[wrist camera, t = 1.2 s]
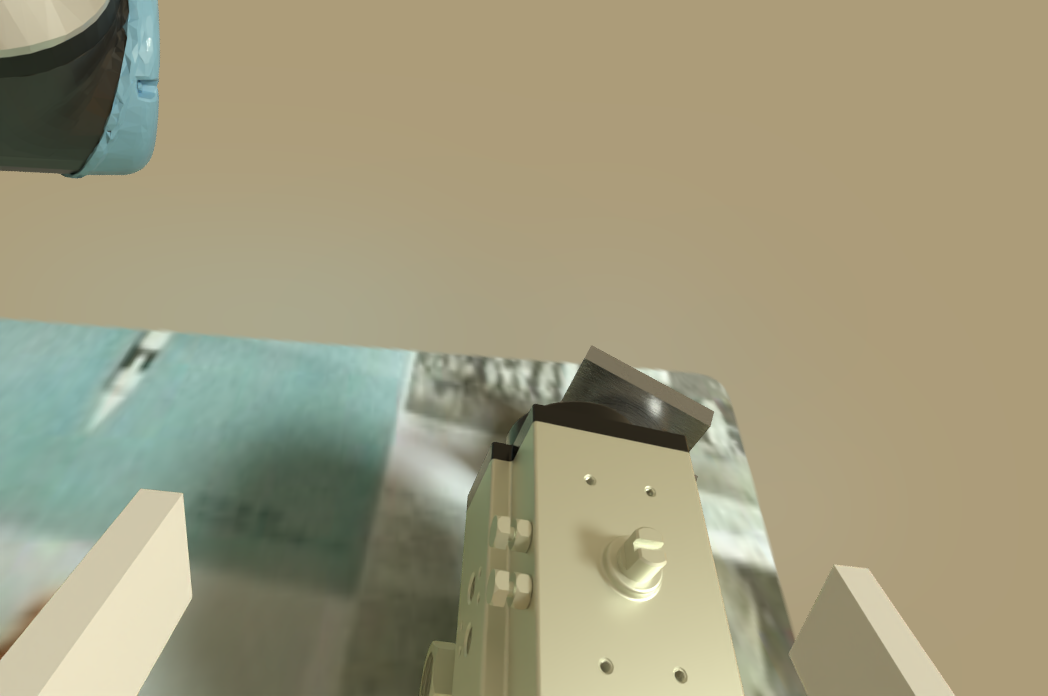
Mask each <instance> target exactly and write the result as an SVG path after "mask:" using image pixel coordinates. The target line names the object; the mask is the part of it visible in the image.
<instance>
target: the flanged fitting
mask: <svg viewBox="0 0 1048 696" xmlns="http://www.w3.org/2000/svg"><path fill="white" fill-rule="evenodd" d="M568 401H583V402H591V403H596V404H600V405H604V406H607V407H609V408H611V409H614V410H616V411H617V412H619V413H621V414H622V415H623V416H625V417H626V418H627V419H628V420H629V421H630V422H631V424H632V425H637V426H642V427H647V428H651V429H656V430H661V431H665V432H670V433H675V434H679V435H684V436H686V440H687V445H688V449H689V451H690V450H691V449H692V448H693V447H694V445H695V444H696V443H697V442H698V441H699V439H700V438H701V437H702V436H703V435H704V433H705V432H706V431H707V430H708V429H709V427H710V425H711V422H712V418H713V414H714V411H712V410H710V409H708V408H707V407H705V406H703V405H701V404H699V403H697V402H695V401H694V400H692V399H690V398H688V397H686V396H684V395H682V394H681V393H679V392H677V391H675V390H673V389H671V388H670V387H668V386H666V385H664V384H662V383H660V382H658V381H657V380H655V379H653V378H651V377H649V376H647V375H646V374H644V373H642V372H640V371H638V370H636V369H634V368H633V367H631V366H629V365H627V364H625V363H623V362H621V361H620V360H618V359H616V358H614V357H612V356H610V355H608V354H607V353H605V352H603V351H601V350H599V349H597V348H596V347H594V346H591V348H590V349H589V351H588V353H587V355H586V357H585V358H584V360H583V362H582V364H581V366H580V368H579V369H578V371H577V373H576V375H575V377H574V379H573V380H572V382H571V384H570V386H569V388H568V390H567V392H566V393H565V395H564V397H563V399H562V401H561V402H568ZM694 476H695V480H696V481H697V477H698V476H696V475H694Z"/></svg>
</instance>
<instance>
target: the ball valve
mask: <svg viewBox="0 0 1048 696" xmlns="http://www.w3.org/2000/svg"><path fill="white" fill-rule="evenodd" d="M419 696H745V695H744V691H743V686H742V682H741V678H740V673H739V669H738V664H737V660H736V656H735V651H734V647H733V642H732V638H731V634H730V629H729V625H728V620H727V616H726V612H725V607H724V603H723V599H722V594H721V590H720V585H719V581H718V577H717V572H716V568H715V563H714V559H713V555H712V550H711V546H710V541H709V537H708V533H707V528H706V524H705V519H704V515H703V511H702V506H701V502H700V497H699V493H698V489H697V484H696V480H695V476H694V471H693V467H692V462H691V458H690V454H689V449H688V445H687V440H686V436H684V435H679V434H675V433H670V432H665V431H661V430H656V429H651V428H647V427H642V426H637V425H632V424H631V422H630V421H629V420H628V419H627V418H626V417H625V416H623V415H622V414H621V413H619V412H617V411H616V410H614V409H611V408H609V407H607V406H604V405H600V404H596V403H591V402H583V401H568V402H558V403H553V404H549V405H545V406H543V405H538V404H534V405H533V406H532V408H531V410H530V412H529V413H527V414H525V415H524V416H523V417H521V418H520V419H519V420H518V421H517V422H516V423H515V424H514V425H513V426H512V428H511V429H510V431H509V433H508V435H507V438H506V444H503V443H498V442H493V443H492V444H491V446H490V449H489V451H488V453H487V455H486V457H485V459H484V462H483V464H482V466H481V468H480V470H479V473H478V475H477V477H476V479H475V481H474V483H473V486H472V488H471V490H470V492H469V494H468V499H467V511H466V524H465V536H464V549H463V561H462V574H461V586H460V599H459V611H458V624H457V636H456V643H451V642H443V641H435V640H434V641H433V642H432V643H431V645H430V647H429V649H428V652H427V655H426V659H425V663H424V668H423V673H422V679H421V685H420V693H419Z"/></svg>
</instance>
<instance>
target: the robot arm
mask: <svg viewBox="0 0 1048 696" xmlns="http://www.w3.org/2000/svg"><path fill="white" fill-rule="evenodd" d="M159 67H160V38H159V12H158V0H0V170H1V171H20V172H21V171H23V172H40V173H58V174H61V175H63V176H65V177H70V178H82V177H84V176H86V175H127V174H132V173H135V172H137V171H139V170H141V169H142V168H143V167H144V166H145V165H146V164H147V163H148V162H149V160H150V158H151V156H152V153H153V150H154V146H155V140H156V132H157V123H158V103H159V96H158V89H157V84H158V82H159V76H158V75H159ZM191 599H192V587H191V576H190V565H189V554H188V543H187V533H186V522H185V511H184V500H183V493H176V492H167V491H158V490H149V489H140V490H139V491H138V493H137V494H136V495H135V496H134V498H133V499H132V500H131V501H130V502H129V504H128V505H127V506H126V507H125V508H124V510H123V511H122V512H121V513H120V515H119V516H118V517H117V518H116V519H115V521H114V522H113V523H112V524H111V526H110V527H109V528H108V529H107V530H106V532H105V533H104V534H103V535H102V537H101V538H100V539H99V540H98V541H97V543H96V544H95V545H94V546H93V548H92V549H91V550H90V551H89V552H88V554H87V555H86V556H85V557H84V559H83V560H82V561H81V562H80V563H79V565H78V566H77V567H76V568H75V570H74V571H73V572H72V573H71V574H70V576H69V577H68V578H67V579H66V581H65V582H64V583H63V584H62V585H61V587H60V588H59V589H58V590H57V592H56V593H55V594H54V595H53V596H52V598H51V599H50V600H49V601H48V603H47V604H46V605H45V606H44V607H43V609H42V610H41V611H40V612H39V614H38V615H37V616H36V617H35V618H34V620H33V621H32V622H31V623H30V625H29V626H28V627H27V628H26V629H25V631H24V632H23V633H22V634H21V636H20V637H19V638H18V639H17V640H16V642H15V643H14V644H13V645H12V647H11V648H10V649H9V650H8V651H7V653H6V654H5V655H4V656H3V657H2V659H1V660H0V696H137V695H138V693H139V691H140V689H141V687H142V686H143V684H144V682H145V680H146V679H147V677H148V675H149V673H150V672H151V670H152V668H153V666H154V664H155V663H156V661H157V659H158V657H159V656H160V654H161V652H162V650H163V649H164V647H165V645H166V643H167V642H168V640H169V638H170V636H171V634H172V633H173V631H174V629H175V627H176V626H177V624H178V622H179V620H180V619H181V617H182V615H183V613H184V611H185V610H186V608H187V606H188V604H189V603H190V601H191ZM789 656H790V658H791V660H792V662H793V665H794V667H795V669H796V671H797V673H798V676H799V678H800V680H801V682H802V684H803V686H804V689H805V691H806V693H807V695H808V696H955V695H954V693H953V692H952V690H951V689H950V687H949V686H948V685H947V683H946V682H945V680H944V679H943V677H942V676H941V674H940V673H939V671H938V670H937V668H936V667H935V665H934V664H933V663H932V661H931V660H930V658H929V657H928V655H927V654H926V653H925V651H924V649H923V648H922V646H921V645H920V643H919V642H918V640H917V639H916V638H915V636H914V635H913V633H912V632H911V630H910V629H909V628H908V626H907V625H906V623H905V621H904V620H903V619H902V617H901V616H900V614H899V613H898V611H897V610H896V608H895V607H894V605H893V604H892V602H891V601H890V599H889V598H888V597H887V595H886V594H885V592H884V591H883V590H882V588H881V586H880V585H879V583H878V582H877V580H876V579H875V578H874V576H873V575H872V573H871V572H870V570H869V569H868V568H860V567H851V566H841V565H834V566H833V568H832V570H831V572H830V574H829V575H828V577H827V579H826V581H825V583H824V585H823V587H822V589H821V591H820V593H819V595H818V597H817V599H816V601H815V603H814V605H813V607H812V609H811V611H810V613H809V615H808V617H807V619H806V621H805V623H804V625H803V627H802V629H801V631H800V633H799V635H798V637H797V638H796V640H795V642H794V644H793V646H792V648H791V650H790V652H789Z"/></svg>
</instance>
